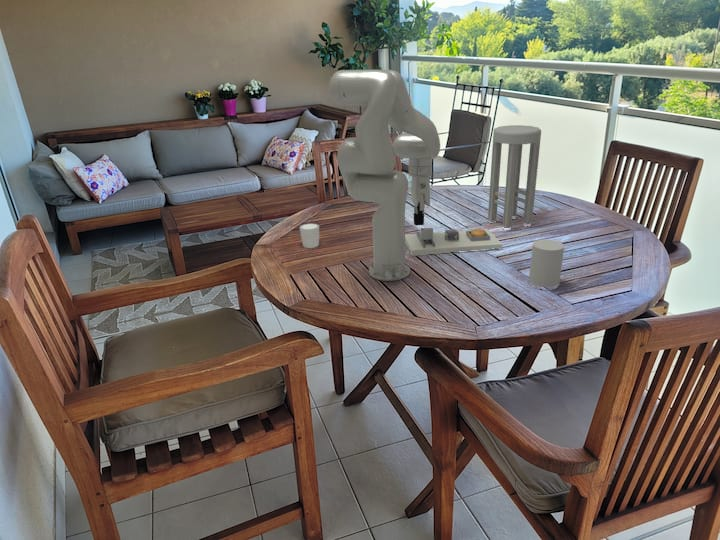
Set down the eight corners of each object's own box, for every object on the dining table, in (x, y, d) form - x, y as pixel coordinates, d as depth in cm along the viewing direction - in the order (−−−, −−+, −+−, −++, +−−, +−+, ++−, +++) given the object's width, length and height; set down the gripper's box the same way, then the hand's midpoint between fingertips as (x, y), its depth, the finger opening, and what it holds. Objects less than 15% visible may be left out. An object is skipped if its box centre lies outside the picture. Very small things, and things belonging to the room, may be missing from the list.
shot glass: (297, 247, 181) (295, 228, 178) (308, 240, 186) (306, 222, 183) (313, 250, 178) (312, 230, 175) (324, 243, 183) (323, 224, 180)
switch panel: (501, 249, 171) (502, 239, 169) (411, 256, 169) (411, 245, 168) (487, 234, 185) (488, 224, 183) (404, 239, 183) (404, 229, 181)
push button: (486, 238, 175) (486, 233, 174) (473, 239, 174) (473, 234, 174) (482, 234, 179) (482, 229, 178) (469, 235, 179) (469, 229, 178)
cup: (552, 277, 150) (557, 238, 146) (563, 289, 143) (569, 249, 138) (524, 278, 150) (528, 240, 145) (534, 291, 143) (538, 251, 138)
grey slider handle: (433, 243, 173) (433, 229, 171) (421, 244, 173) (421, 230, 170) (431, 240, 175) (431, 226, 173) (419, 241, 175) (419, 227, 173)
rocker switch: (458, 237, 173) (458, 231, 173) (449, 238, 173) (449, 232, 172) (454, 235, 178) (454, 229, 178) (445, 235, 178) (445, 229, 178)
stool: (504, 234, 184) (512, 133, 170) (479, 221, 198) (485, 127, 183) (540, 227, 189) (550, 129, 175) (513, 215, 203) (521, 123, 188)
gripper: (436, 174, 162) (434, 230, 169) (427, 166, 176) (425, 218, 183) (412, 175, 162) (411, 231, 169) (405, 166, 176) (404, 218, 183)
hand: (418, 224), depth 176 cm, fingers closed
